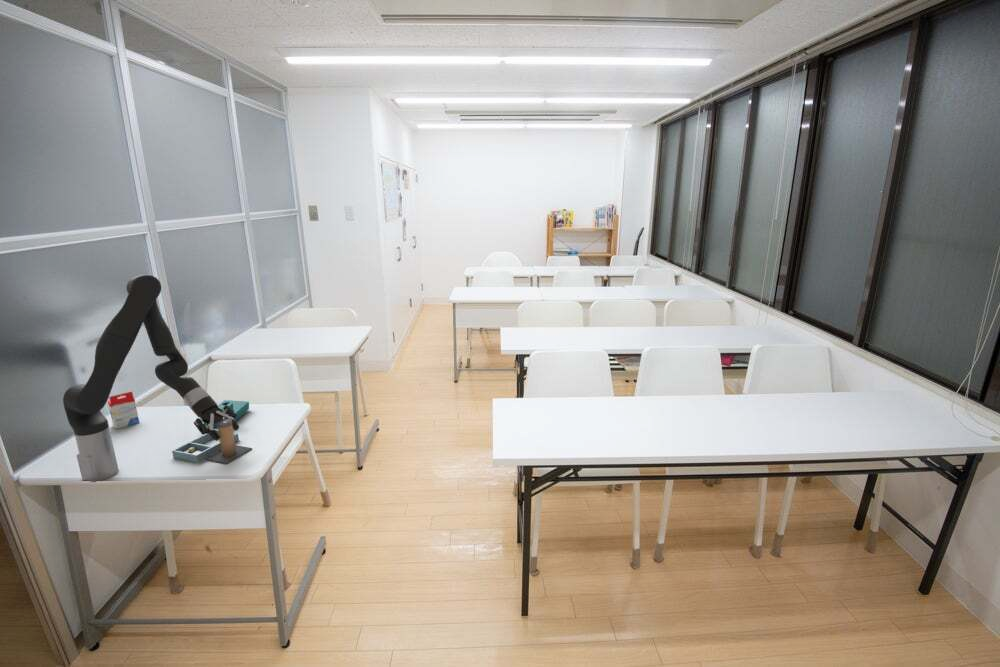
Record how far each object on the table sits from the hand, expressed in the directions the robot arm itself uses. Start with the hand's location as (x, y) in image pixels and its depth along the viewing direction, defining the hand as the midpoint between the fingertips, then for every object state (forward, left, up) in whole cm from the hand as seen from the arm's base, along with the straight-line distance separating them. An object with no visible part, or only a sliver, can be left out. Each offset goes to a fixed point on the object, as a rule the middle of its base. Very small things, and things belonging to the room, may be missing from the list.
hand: (228, 434), depth 183 cm
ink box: (+7, +65, -9) cm, 66 cm away
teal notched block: (+25, +28, -9) cm, 39 cm away
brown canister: (0, +1, -8) cm, 8 cm away
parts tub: (+1, +13, -9) cm, 16 cm away
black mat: (0, +1, -9) cm, 9 cm away
